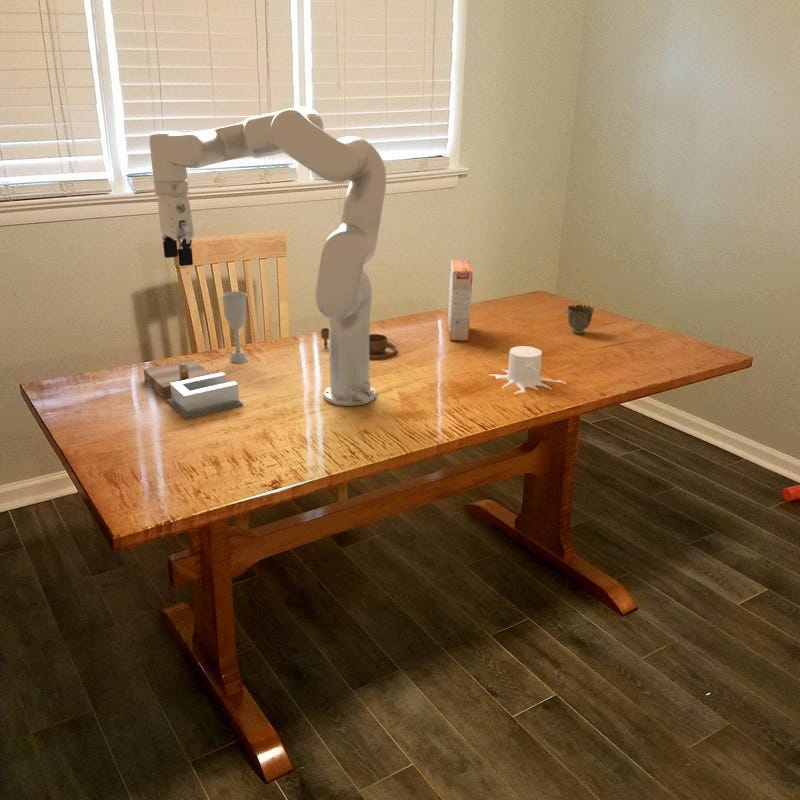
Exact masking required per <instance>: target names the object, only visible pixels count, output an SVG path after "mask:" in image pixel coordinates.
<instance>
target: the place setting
mask: <svg viewBox="0 0 800 800" xmlns="http://www.w3.org/2000/svg"><path fill="white" fill-rule="evenodd" d="M320 335H321V336H320V337H321V339H323V347H325V348H324V349H327V347H328V346H329V342H328V340H329V327H328V328H327V327H325V328H321V329H320ZM387 348H388V349H389V350H391V352H390V353H387V354H386V353H385V354H382V353H383V352H384V351H386V349H387ZM396 352H397V345H394V344H393V343H392V342H389V341H388V337H387V336H386V335H384V334H380V333H378V334H377V333H370V335H369V360H383V359H389V358H391V357H393V356H394V355H396V354H397V353H396ZM381 354H382V355H381Z"/></svg>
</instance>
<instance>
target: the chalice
mask: <svg viewBox="0 0 800 800" xmlns="http://www.w3.org/2000/svg"><path fill="white" fill-rule="evenodd" d="M247 296H248V293H247V292H244V291H227V292H224V293H222V294H220V298H221V300H222V302H223V303H222V304H223V305H222V306H223V314H224V318H225V319H226V322H227V323H228V325H229V327H230V328H231V329H232V330H234V336H233V337H234V339H235V341H234V342H233V344H235V349H234V350H233V351H232V352H231V353H230V354H231V355H230V356H229V359H228V360H230V361H231V362H230V361H229V362H230V363H233V362H236V363H235V364H242V363H246V362H248V361H249V358H248V357H247V354H246V352H245V351H244V350H242V349H241V348H240V346H241V345H240V344H241V343H242V342H241V341H240V337H241V335H240V333H239V330H240V329H242V327H243V325H244V322H245V320H246V316H247V313H248V312H247ZM245 361H246V362H245ZM241 362H242V363H241Z"/></svg>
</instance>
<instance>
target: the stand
mask: <svg viewBox="0 0 800 800" xmlns="http://www.w3.org/2000/svg"><path fill="white" fill-rule="evenodd" d="M211 374H212V373H211V372H209V371H208V370H207V369H206V368H205V367H203V365H201V364H199V363H198V362H197V361H196V360H195V359H190V360H189V359H188V360H184V361H179V362H174V363H168V364H164V365H159V366H154V367H149V368H144V369H143V376H144V377H143V378H144V381H145V382H146V383H147V384H148V385H149V386H150V387H151V388H152V389H154V390H155V392H156V393H158V395H159V396H161V397H162V399H170V398H172V395H171V386H170V383H173V382H178V381H183V380H188V379H192V378H197V377H202V376H206V375H211Z"/></svg>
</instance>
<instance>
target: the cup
mask: <svg viewBox="0 0 800 800" xmlns="http://www.w3.org/2000/svg"><path fill="white" fill-rule="evenodd" d="M593 312H594V307H593V306H590V305H588V306H587V305H586V304H584V305H582V304H578V303H577V304H576V305H575V304H573V305H568V306H567V313H568V314H567V315H568V316H567V319H568V325H569V326H570V328H572V329H571V332H572V333H573V334H575V335H583V334H584V333H585V331H586V330H585V329H587V328H588V327H589V326H590V324H591V321H592V317H593Z"/></svg>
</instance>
